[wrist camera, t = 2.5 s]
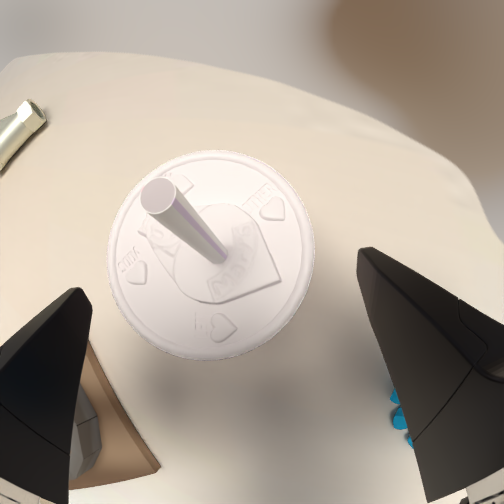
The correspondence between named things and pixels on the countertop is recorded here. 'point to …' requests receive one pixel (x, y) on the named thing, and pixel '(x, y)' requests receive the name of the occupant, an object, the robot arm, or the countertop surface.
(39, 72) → the countertop surface
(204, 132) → the countertop surface
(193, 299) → the smoothie
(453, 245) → the countertop surface
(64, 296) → the robot arm
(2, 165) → the pipe fitting
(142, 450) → the collar stand
